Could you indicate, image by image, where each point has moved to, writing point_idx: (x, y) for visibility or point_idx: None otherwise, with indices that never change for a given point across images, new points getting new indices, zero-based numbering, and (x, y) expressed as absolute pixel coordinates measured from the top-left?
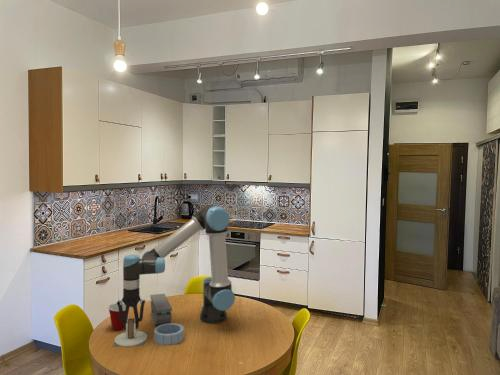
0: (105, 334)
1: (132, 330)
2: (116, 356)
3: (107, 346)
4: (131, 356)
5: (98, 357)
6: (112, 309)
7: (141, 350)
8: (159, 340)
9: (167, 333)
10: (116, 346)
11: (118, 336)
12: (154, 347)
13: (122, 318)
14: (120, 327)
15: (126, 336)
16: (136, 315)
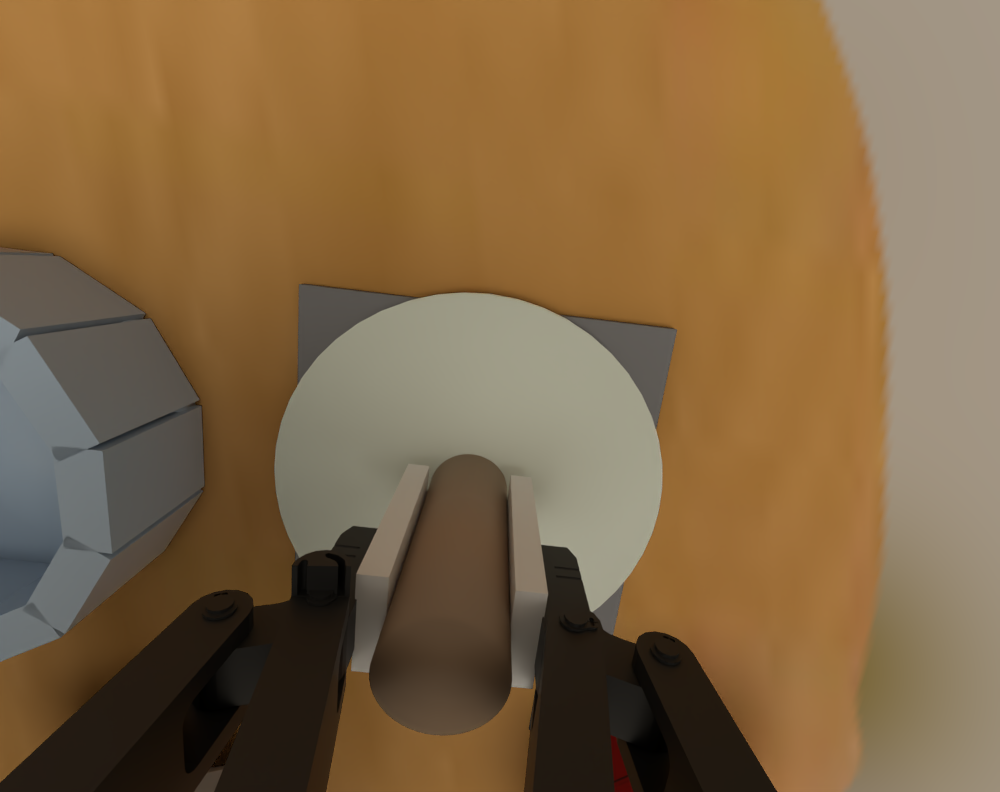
0: (757, 659)
1: (436, 509)
2: (609, 63)
3: (729, 371)
4: (416, 20)
5: (831, 82)
6: None
7: (311, 179)
8: (59, 293)
9: (47, 536)
10: (628, 324)
11: (622, 547)
12: (160, 234)
13: (640, 724)
14: (614, 746)
15: (523, 478)
16: (258, 719)
